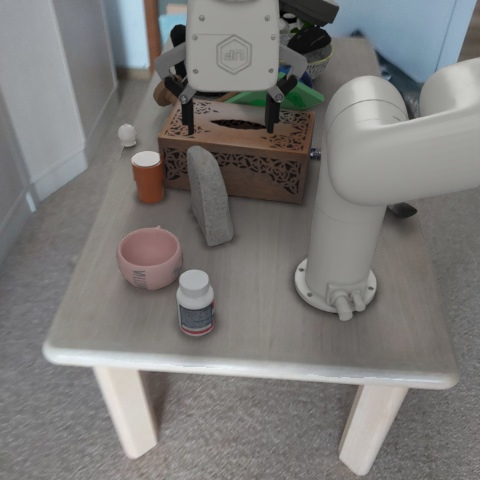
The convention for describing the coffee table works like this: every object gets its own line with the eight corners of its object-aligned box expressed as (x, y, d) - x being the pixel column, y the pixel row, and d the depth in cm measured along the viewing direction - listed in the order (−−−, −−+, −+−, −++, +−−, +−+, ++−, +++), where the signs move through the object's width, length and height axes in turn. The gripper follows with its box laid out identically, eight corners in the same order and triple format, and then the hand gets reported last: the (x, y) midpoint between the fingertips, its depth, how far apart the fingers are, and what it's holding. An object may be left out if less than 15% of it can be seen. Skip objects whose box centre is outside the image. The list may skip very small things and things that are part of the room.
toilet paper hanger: (274, 63, 120) (268, 86, 127) (249, 32, 121) (244, 57, 128) (178, 117, 113) (177, 138, 120) (152, 84, 114) (153, 106, 121)
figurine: (296, -3, 124) (305, 10, 135) (232, 14, 129) (246, 26, 140) (300, 34, 126) (309, 45, 136) (237, 50, 130) (251, 59, 141)
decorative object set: (218, 141, 114) (218, 120, 111) (119, 147, 111) (116, 126, 108) (215, 131, 117) (215, 110, 114) (118, 137, 115) (115, 116, 111)
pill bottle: (220, 331, 80) (219, 287, 74) (185, 341, 79) (181, 297, 72) (207, 306, 84) (206, 262, 77) (174, 315, 82) (169, 271, 76)
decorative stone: (184, 211, 99) (178, 133, 88) (216, 204, 100) (214, 127, 89) (203, 249, 92) (200, 171, 81) (237, 241, 94) (238, 163, 82)
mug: (177, 301, 84) (174, 272, 80) (113, 294, 85) (106, 265, 80) (192, 249, 92) (190, 220, 88) (133, 243, 93) (128, 214, 88)
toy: (250, 135, 117) (210, 117, 111) (252, 121, 117) (213, 102, 112) (322, 106, 99) (279, 82, 93) (325, 89, 99) (282, 64, 94)
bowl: (321, 100, 126) (325, 67, 120) (253, 89, 129) (254, 56, 123) (335, 70, 136) (339, 38, 131) (272, 61, 139) (274, 29, 134)
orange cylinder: (167, 203, 100) (163, 166, 95) (136, 205, 100) (131, 168, 94) (165, 185, 104) (161, 149, 98) (135, 188, 103) (130, 151, 97)
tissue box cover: (309, 160, 110) (315, 112, 102) (301, 203, 100) (307, 154, 93) (182, 145, 113) (179, 97, 105) (162, 186, 103) (157, 137, 96)
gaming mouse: (271, 52, 125) (272, 33, 122) (316, 34, 132) (318, 16, 129) (291, 62, 122) (293, 43, 119) (336, 43, 129) (338, 24, 126)
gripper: (145, -16, 53) (159, 146, 66) (325, -15, 54) (304, 143, 67) (147, -41, 58) (159, 114, 71) (311, -40, 59) (294, 112, 72)
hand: (230, 128), depth 69 cm, fingers open, 9 cm apart
